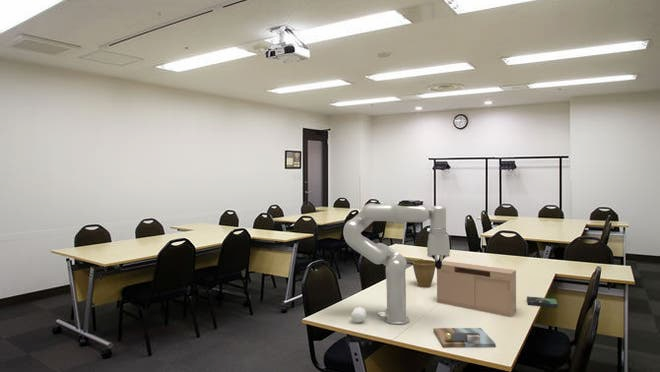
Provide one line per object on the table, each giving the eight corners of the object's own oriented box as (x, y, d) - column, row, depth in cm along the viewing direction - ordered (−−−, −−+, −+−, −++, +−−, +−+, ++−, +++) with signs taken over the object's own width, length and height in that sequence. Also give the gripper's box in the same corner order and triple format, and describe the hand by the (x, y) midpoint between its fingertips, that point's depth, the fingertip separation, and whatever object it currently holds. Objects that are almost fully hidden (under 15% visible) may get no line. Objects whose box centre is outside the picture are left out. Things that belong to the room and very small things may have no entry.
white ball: (357, 318, 213) (357, 303, 213) (369, 321, 208) (369, 306, 208) (347, 322, 207) (347, 307, 206) (360, 326, 202) (360, 310, 202)
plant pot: (434, 283, 278) (433, 259, 278) (437, 289, 263) (437, 264, 263) (411, 283, 280) (411, 259, 279) (413, 289, 265) (413, 264, 264)
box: (510, 318, 210) (510, 273, 210) (436, 303, 236) (436, 263, 235) (516, 312, 218) (516, 270, 217) (444, 299, 244) (443, 260, 243)
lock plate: (443, 347, 176) (443, 337, 176) (433, 331, 194) (433, 321, 194) (495, 347, 175) (495, 336, 175) (480, 331, 193) (480, 321, 193)
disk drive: (527, 306, 230) (558, 309, 224) (527, 301, 229) (558, 303, 224) (526, 301, 239) (555, 303, 234) (526, 296, 239) (555, 298, 234)
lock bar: (445, 341, 177) (445, 334, 177) (444, 339, 180) (444, 332, 180) (480, 341, 177) (480, 334, 177) (478, 339, 179) (477, 332, 179)
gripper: (424, 232, 199) (424, 270, 199) (455, 232, 198) (456, 270, 199) (421, 230, 206) (421, 267, 207) (451, 230, 206) (451, 266, 206)
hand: (438, 268), depth 203 cm, fingers closed
